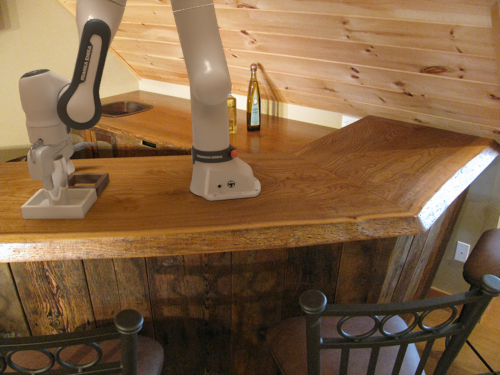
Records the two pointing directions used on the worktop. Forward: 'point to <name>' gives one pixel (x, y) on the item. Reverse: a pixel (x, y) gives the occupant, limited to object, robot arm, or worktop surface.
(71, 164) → the inkwell
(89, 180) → the walnut collar
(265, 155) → the worktop surface
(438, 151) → the worktop surface
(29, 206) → the cream white tray
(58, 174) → the beer glass
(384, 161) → the worktop surface
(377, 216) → the worktop surface
